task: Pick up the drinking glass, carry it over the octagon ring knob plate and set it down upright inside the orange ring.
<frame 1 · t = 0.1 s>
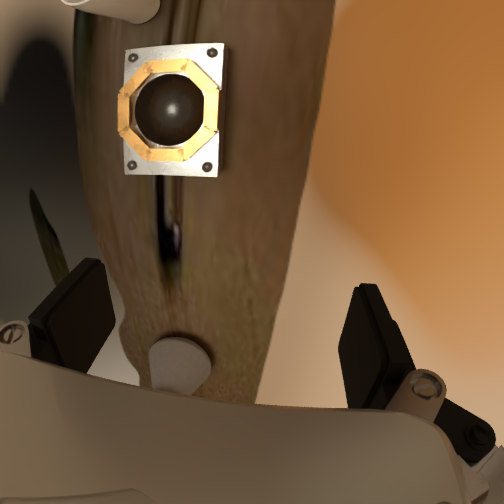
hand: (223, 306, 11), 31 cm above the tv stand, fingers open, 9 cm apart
octagon ring knob plate: (179, 108, 37), on the tv stand
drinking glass: (143, 8, 30), on the tv stand
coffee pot: (184, 369, 58), on the tv stand
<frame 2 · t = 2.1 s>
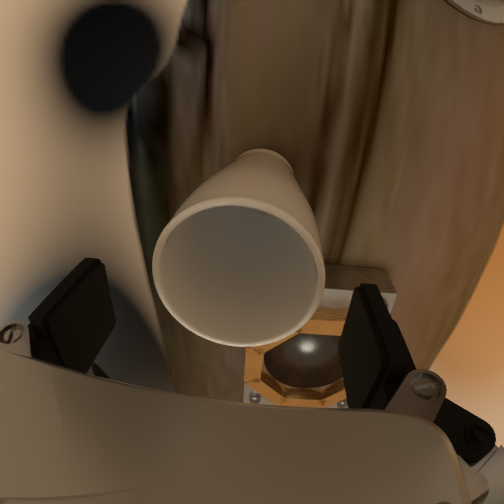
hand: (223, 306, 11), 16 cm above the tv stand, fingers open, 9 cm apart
octagon ring knob plate: (309, 331, 32), on the tv stand
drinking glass: (261, 179, 25), on the tv stand
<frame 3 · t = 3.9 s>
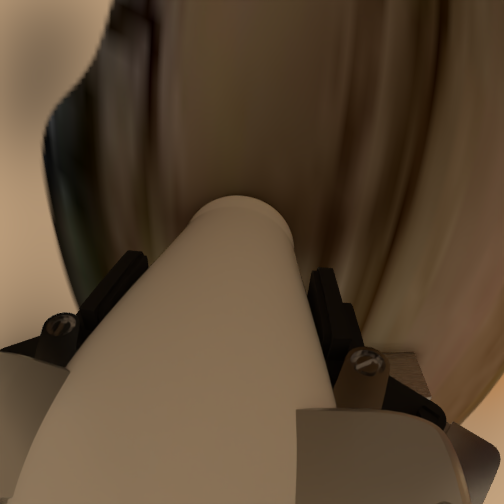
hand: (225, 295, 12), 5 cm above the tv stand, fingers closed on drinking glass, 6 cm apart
octagon ring knob plate: (308, 420, 23), on the tv stand
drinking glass: (240, 241, 16), on the tv stand, touching gripper
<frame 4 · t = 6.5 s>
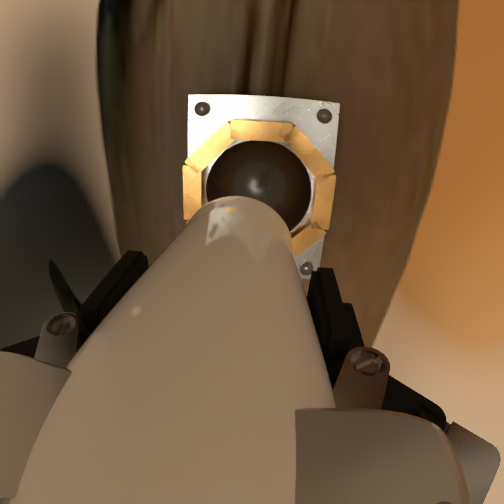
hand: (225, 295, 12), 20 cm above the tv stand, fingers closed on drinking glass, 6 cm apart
octagon ring knob plate: (260, 180, 30), on the tv stand
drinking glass: (238, 241, 16), point 15 cm above the tv stand, touching gripper
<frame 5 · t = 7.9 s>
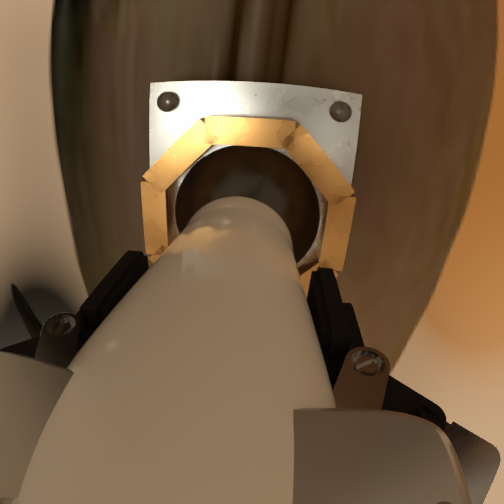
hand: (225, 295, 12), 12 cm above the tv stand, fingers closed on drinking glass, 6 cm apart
octagon ring knob plate: (251, 197, 23), on the tv stand
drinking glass: (238, 242, 16), point 7 cm above the tv stand, touching gripper
when the fingers open (10 cm above the tv stand, at t = 9.3 s): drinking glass stays where it is, resting on octagon ring knob plate.
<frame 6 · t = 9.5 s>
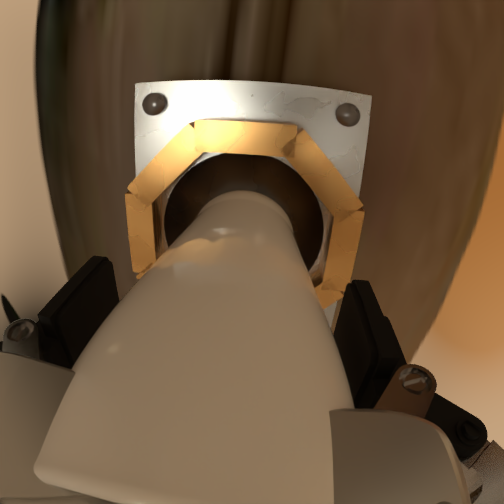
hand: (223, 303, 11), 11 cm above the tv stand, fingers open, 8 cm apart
octagon ring knob plate: (248, 208, 21), on the tv stand
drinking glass: (243, 233, 17), point 4 cm above the tv stand, touching octagon ring knob plate
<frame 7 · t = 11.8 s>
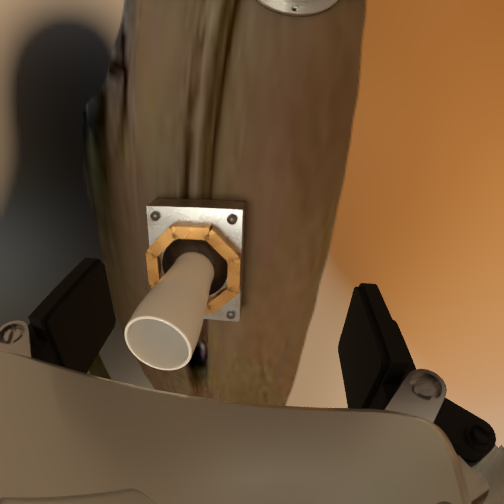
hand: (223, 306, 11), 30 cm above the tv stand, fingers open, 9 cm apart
octagon ring knob plate: (201, 254, 44), on the tv stand
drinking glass: (195, 268, 41), point 4 cm above the tv stand, touching octagon ring knob plate
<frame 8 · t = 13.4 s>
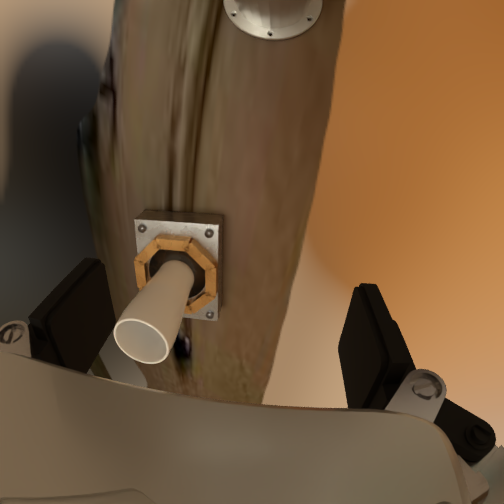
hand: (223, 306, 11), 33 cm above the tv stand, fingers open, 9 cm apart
octagon ring knob plate: (184, 260, 49), on the tv stand
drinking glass: (178, 273, 46), point 4 cm above the tv stand, touching octagon ring knob plate
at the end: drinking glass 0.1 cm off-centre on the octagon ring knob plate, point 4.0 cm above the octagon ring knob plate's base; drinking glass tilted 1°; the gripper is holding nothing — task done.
